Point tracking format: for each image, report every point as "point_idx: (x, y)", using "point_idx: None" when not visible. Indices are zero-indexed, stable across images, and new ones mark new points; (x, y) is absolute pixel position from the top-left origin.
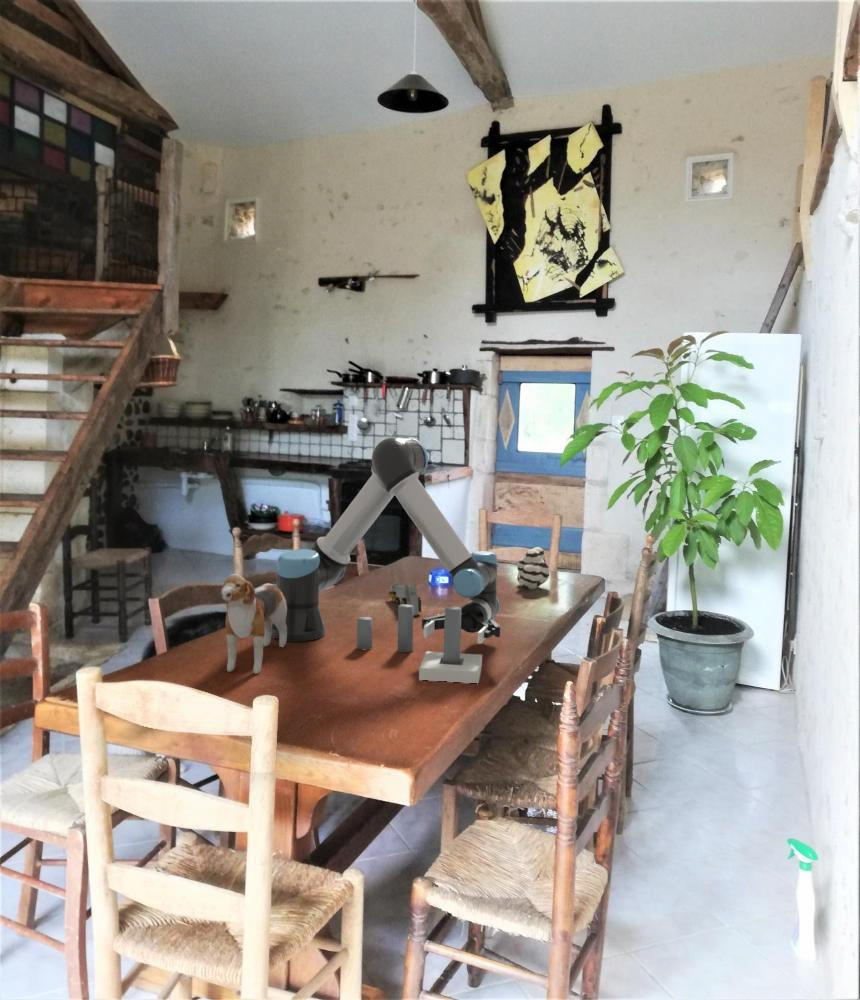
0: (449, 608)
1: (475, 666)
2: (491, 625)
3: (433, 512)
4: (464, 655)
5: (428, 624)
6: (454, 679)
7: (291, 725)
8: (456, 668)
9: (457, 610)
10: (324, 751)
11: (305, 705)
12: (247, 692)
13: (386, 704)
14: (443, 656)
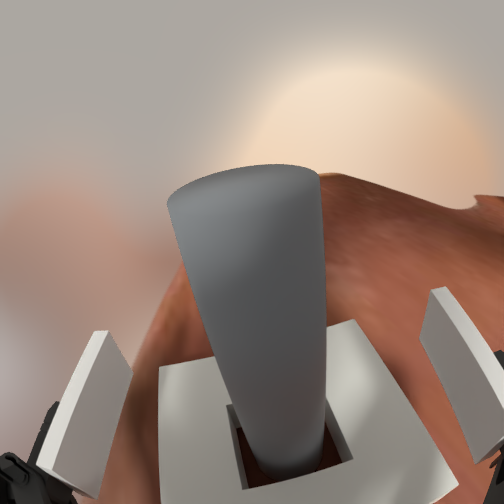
0: (272, 176)
1: (173, 408)
2: (9, 459)
3: None
4: None
5: (467, 331)
6: None
7: (373, 185)
8: None
9: (196, 180)
10: None
11: (412, 205)
12: (492, 204)
13: (324, 239)
14: (349, 470)
